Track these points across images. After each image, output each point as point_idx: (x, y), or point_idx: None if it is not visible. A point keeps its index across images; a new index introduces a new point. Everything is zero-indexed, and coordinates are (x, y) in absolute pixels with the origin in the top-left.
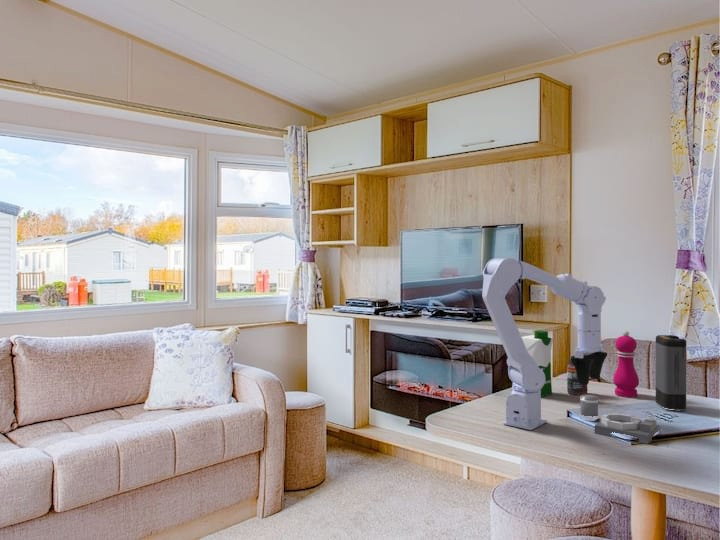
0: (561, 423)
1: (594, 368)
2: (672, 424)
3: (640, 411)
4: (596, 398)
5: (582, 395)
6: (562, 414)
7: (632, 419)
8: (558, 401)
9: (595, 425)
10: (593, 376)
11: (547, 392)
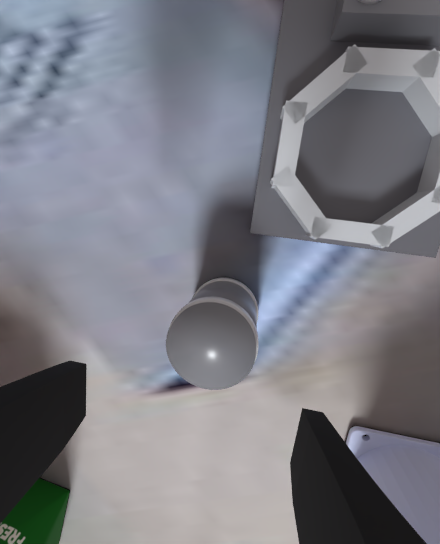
0: (338, 380)
1: (1, 465)
2: (115, 4)
3: (17, 165)
4: (226, 310)
5: (203, 382)
6: (221, 396)
7: (316, 107)
8: None
9: (436, 253)
10: (72, 408)
11: None
